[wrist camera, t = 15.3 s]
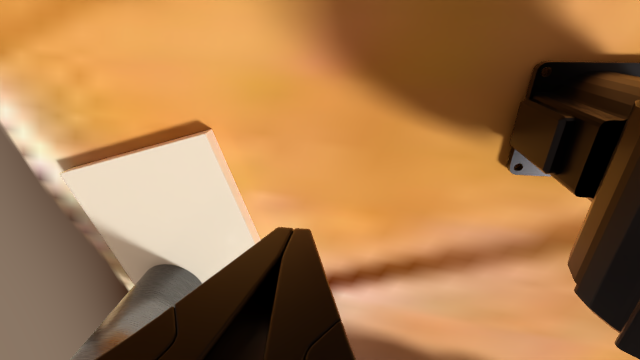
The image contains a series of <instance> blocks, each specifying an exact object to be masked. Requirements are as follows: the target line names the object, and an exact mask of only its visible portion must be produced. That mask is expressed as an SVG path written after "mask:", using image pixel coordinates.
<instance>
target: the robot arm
mask: <svg viewBox="0 0 640 360" xmlns="http://www.w3.org/2000/svg"><path fill="white" fill-rule="evenodd" d="M545 67H547V68H548V72H547V73H546V74H545V75H544V76H542V75H541V72H542V70H543V69H544V68H545ZM510 144H511V146H512V148H511V152H510V156H509V159H508V163H507V168H508V170H509V171H510V172H511V173H512V174H515V175H533V176H552V177H553V178H555V179H556V180H557V181H558V182H560V183H561V184H562V185H563V186H564V187H566V188H567V189H568V190H569V191H571V192H572V193H573V194H574V195H576V196H578V197H586V198H588V199H589V200H590V201H591V202H592V203H591V206H590V208H589V210H588V213H587V215H586V218H585V220H584V222H583V225H582V227H581V229H580V232H579V234H578V236H577V239H576V241H575V243H574V246H573V248H572V250H571V253H570V257H569V261H568V266H569V269H570V271H571V274H572V276H573V279H574V281H575V282H576V284H577V285H576V287H575V289H574V291H575V293H576V294H577V295H578V297H579V298H580V299H581V300H582V301H583V302H584V303H585V304H586V305H587V306H588V307H589V309H590V310H591V311H592V312H593V313H594V314H596V315H597V316H598V317H599V318H600V319H602V320H603V321H604V322H605V323H606V324H608V325H609V326H610V327H611V328H613V329H614V330H616V331H617V332H619V333H620V334H619V336H618V337H617V339H616V341H615V345H616V346H617V347H618V348H619V349H620V350H622V351H624V352H626V353H628V354H630V355H632V356H634V357H636V358H638V359H640V62H576V61H544V62H540V63H539V64H537V65H536V66H535V68H534V70H533V72H532V76H531V80H530V83H529V87H528V90H527V94H526V98H525V99H524V100H523V101H522V102H521V103H520V107H519V110H518V114H517V118H516V121H515V125H514V129H513V132H512V136H511V140H510ZM519 163H520V166H519V167H518V168H515V169H514V166H515V165H516V164H519ZM174 307H175V308H174ZM94 360H356V358H355V356H354V353H353V350H352V348H351V345H350V343H349V340H348V338H347V335H346V332H345V329H344V326H343V323H342V322H341V318H340V315H339V312H338V309H337V306H336V303H335V300H334V297H333V294H332V291H331V289H330V286H329V283H328V280H327V277H326V274H325V271H324V268H323V265H322V262H321V259H320V256H319V253H318V251H317V248H316V245H315V242H314V239H313V236H312V233H311V231H310V230H309V229H299V228H296V229H294V230H293V228H283V227H278V228H276V229H275V230H274V231H272V232H271V233H270V234H268V235H267V236H266V237H264V238H263V239H262V240H260V241H259V242H257V243H256V244H255V245H253V246H252V247H251V248H249V249H248V250H247V251H245V252H244V253H243V254H241V255H240V256H239V257H237V258H236V259H235V260H233V261H232V262H231V263H229V264H228V265H227V266H225V267H224V268H222V269H221V270H220V271H218V272H217V273H216V274H214V275H213V276H212V277H210V278H209V279H208V280H206V281H205V282H204V283H202V284H201V285H200V286H198V287H197V288H196V289H194V290H193V291H191V292H190V293H189V294H187V295H186V296H185V297H183V298H182V299H181V300H179V301H178V302H177V303H175V305H174V306H171V307H170V308H168V309H167V310H166V311H164V312H163V313H162V314H160V315H159V316H158V317H156V318H155V319H153V320H152V321H151V322H149V323H148V324H146V325H145V326H144V327H142V328H141V329H139V330H138V331H137V332H135V333H134V334H132V335H131V336H129V337H128V338H126V339H125V340H123V341H122V342H120V343H119V344H117V345H116V346H114V347H113V348H111V349H110V350H108V351H107V352H105V353H104V354H102V355H100V356H99V357H97V358H96V359H94Z"/></svg>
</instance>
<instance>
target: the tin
mask: <svg viewBox="0 0 640 360" xmlns="http://www.w3.org/2000/svg"><path fill="white" fill-rule="evenodd" d="M201 284H202V282H201V281H200V280H199V279H198V278H197V277H196V276H195V275H194V274H192V273H191V272H190V271H188V270H186V269H184V268H182V267H179V266H176V265H171V264H161V265H156V266H153V267H151V268H150V269H148V270H147V271H146V273H145V274H144V275H143V276H142V277H141V278H140V280H139V281H138V282H137V283H136V284H135V285H134V286H133V288H132V289H131V290H130V291H129V292H128V293H127V295H126V296H125V297H124V298H123V299H122V300H121V301H120V303H119V304H118V305H117V306H116V307H115V308H114V310H113V311H112V312H111V313H110V314H109V315H108V316H107V318H106V319H105V320H104V321H103V322H102V324H101V325H100V326H99V327H98V328H97V329H96V331H94V333H93V334H92V335H91V336H90V337H89V338H88V340H87V341H86V342H85V343H84V344H83V345H82V346H81V348H80V349H79V350H78V351H77V352H76V353H75V355H74V356H73V357H72V358H71V360H94V359H96V358H97V357H99V356H100V355H102V354H104V353H105V352H107V351H108V350H110V349H111V348H113V347H114V346H116V345H117V344H119V343H120V342H122V341H123V340H125V339H126V338H128V337H129V336H131V335H132V334H134V333H135V332H137V331H138V330H139V329H141V328H142V327H144V326H145V325H146V324H148V323H149V322H151V321H152V320H153V319H155V318H156V317H158V316H159V315H160V314H162V313H163V312H164V311H166V310H167V309H168V308H170V307H171V306H174V305H175V303H177V302H178V301H179V300H181V299H182V298H183V297H185V296H186V295H187V294H189V293H190V292H191V291H193V290H194V289H196V288H197V287H198V286H200V285H201ZM174 308H175V307H174Z"/></svg>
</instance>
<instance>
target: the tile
mask: <svg viewBox="0 0 640 360" xmlns="http://www.w3.org/2000/svg"><path fill="white" fill-rule="evenodd" d="M60 176H61V177H62V179H63V180H64V182H65V183H66V185H67V186H68V188H69V189H70V191H71V192H72V194H73V195H74V196H75V198H76V199H77V201H78V202H79V204H80V205H81V207H82V208H83V210H84V211H85V213H86V214H87V216H88V217H89V219H90V220H91V221H92V223H93V224H94V226H95V227H96V229H97V230H98V232H99V233H100V235H101V236H102V238H103V239H104V241H105V242H106V244H107V245H108V246H109V248H110V249H111V251H112V252H113V254H114V255H115V257H116V258H117V260H118V261H119V263H120V264H121V266H122V267H123V269H124V270H125V271H126V273H127V274H128V276H129V277H130V279H131V280H132V282H133V283H134V285H135V284H136V283H137V282H138V281H139V280H140V278H141V277H142V276H143V275H144V274H145V273H146V271H147V270H148V269H150V268H151V267H153V266H156V265H161V264H171V265H176V266H179V267H182V268H184V269H186V270H188V271H190V272H191V273H192V274H194V275H195V276H196V277H197V278H198V279H199V280H200V281H201V282H202V283H204V282H205V281H206V280H208V279H209V278H210V277H212V276H213V275H214V274H216V273H217V272H218V271H220V270H221V269H222V268H224V267H225V266H227V265H228V264H229V263H231V262H232V261H233V260H235V259H236V258H237V257H239V256H240V255H241V254H243V253H244V252H245V251H247V250H248V249H249V248H251V247H252V246H253V245H255V244H256V243H257V242H259V241H260V240H261V239H260V237H259V235H258V232H257V230H256V228H255V226H254V223H253V221H252V219H251V217H250V214H249V212H248V210H247V208H246V205H245V203H244V201H243V199H242V196H241V194H240V192H239V190H238V187H237V185H236V183H235V180H234V178H233V176H232V174H231V171H230V169H229V167H228V165H227V162H226V160H225V158H224V156H223V153H222V151H221V149H220V147H219V144H218V142H217V140H216V138H215V135H214V133H213V131H212V129H210V130H206V131H203V132H199V133H196V134H192V135H188V136H185V137H181V138H178V139H174V140H170V141H167V142H163V143H160V144H156V145H152V146H149V147H145V148H142V149H138V150H134V151H131V152H127V153H124V154H120V155H116V156H113V157H109V158H106V159H102V160H98V161H95V162H91V163H88V164H84V165H80V166H77V167H73V168H70V169H68V170H66V171H64V172H62V173H60Z"/></svg>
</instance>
